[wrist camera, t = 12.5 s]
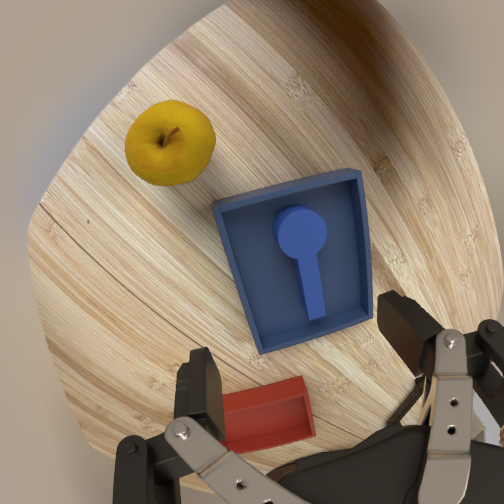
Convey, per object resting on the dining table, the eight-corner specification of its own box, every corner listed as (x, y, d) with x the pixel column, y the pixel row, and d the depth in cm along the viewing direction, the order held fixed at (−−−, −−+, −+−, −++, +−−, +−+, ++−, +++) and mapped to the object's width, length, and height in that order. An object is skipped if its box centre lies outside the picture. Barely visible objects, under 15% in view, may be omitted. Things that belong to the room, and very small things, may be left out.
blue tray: (256, 340, 31) (259, 355, 28) (212, 201, 25) (211, 208, 22) (363, 306, 31) (373, 318, 28) (348, 167, 25) (361, 170, 22)
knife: (388, 428, 46) (391, 432, 44) (367, 430, 44) (370, 435, 43) (462, 338, 38) (467, 342, 36) (446, 335, 36) (451, 340, 35)
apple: (223, 115, 22) (225, 101, 14) (205, 185, 24) (199, 204, 17) (152, 103, 21) (123, 86, 13) (137, 172, 23) (102, 186, 15)
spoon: (329, 299, 29) (337, 311, 27) (291, 311, 29) (296, 325, 27) (313, 198, 25) (322, 204, 23) (267, 211, 25) (272, 217, 23)
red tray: (223, 441, 39) (224, 456, 36) (193, 400, 34) (192, 417, 31) (311, 421, 39) (316, 435, 36) (301, 375, 34) (307, 391, 31)
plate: (282, 452, 43) (285, 468, 39) (392, 435, 48) (398, 446, 44) (250, 494, 52) (251, 504, 49) (341, 482, 57) (344, 491, 54)
